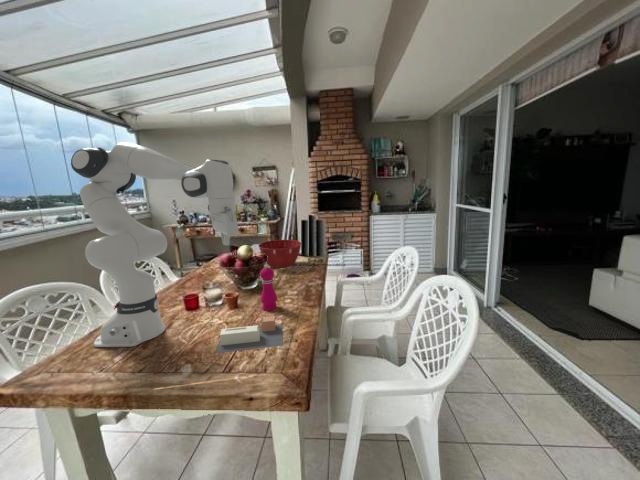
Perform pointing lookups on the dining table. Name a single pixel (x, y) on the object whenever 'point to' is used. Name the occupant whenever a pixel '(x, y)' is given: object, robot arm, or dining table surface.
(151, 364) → the dining table surface
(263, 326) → the stub
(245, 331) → the pale green slotted block
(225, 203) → the robot arm
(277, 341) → the slate mat
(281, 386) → the dining table surface
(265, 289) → the pepper mill
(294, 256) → the mixing bowl
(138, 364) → the dining table surface
